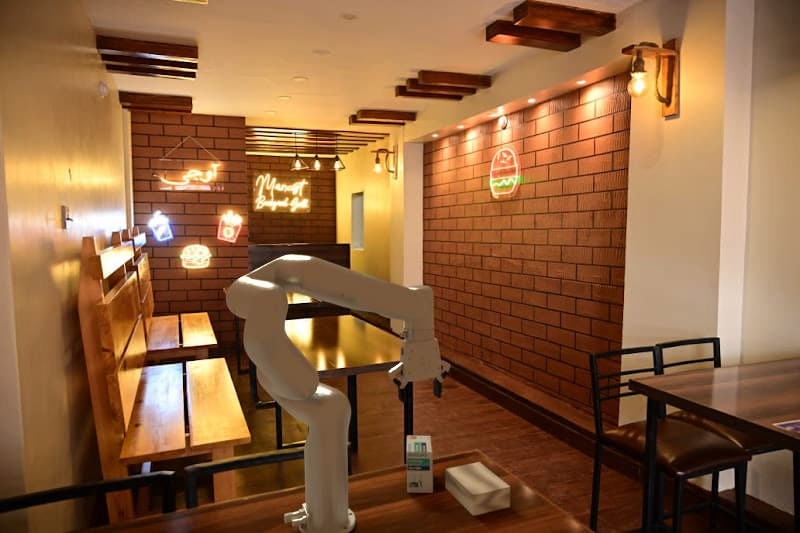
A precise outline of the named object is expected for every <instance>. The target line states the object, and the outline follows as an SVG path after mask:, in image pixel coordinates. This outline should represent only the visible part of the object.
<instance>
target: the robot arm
mask: <svg viewBox="0 0 800 533" xmlns="http://www.w3.org/2000/svg"><path fill="white" fill-rule="evenodd" d="M289 293H293V294H297V295H298V294H299V295H302V296H304V297H308V298H312V299H315V300H318V301H319V300H320V301H323V302H326V303H330V304H333V305H336V306H340V307H342V308H347V309H351V310H355V311H361V312H370V313H375V314H377V315H379V316H381V317H384V318H387V319H392V320H396V321H397V320H398V321H402V322H404V328H403V330H402V331H400V332H399V337H400V338H404V339H402V341H401V346H400V355H399V363H398V364H397V365H395V366H394V367H392V368H391V369H390V370H388V371H387V375H388V376H389V378H390V379H391V382H392V383H393V384H395V385H396V386H397V398H398V400H399V402H401V403H402V404H403V405H406V404H407V403H408V401H407V399H408V397H407V396H408V394H407V391H408V390H407V387H406V385H407V384H408V383H409V382H419V381H424V380H429V379H430V380H431V379H432V380H433V381H432V383H433V384H432V386H433V387H432V388H433V389H432V391H433V392H432V394H433V395H434V396H435V397H436V398H438V399H441V398H442V393H443V383H444V381H445V378H446V377H447V376H448V375H449V371H450V369H451V367H452V365H451V364H450V363H449V362H447V361H445V360H443V359H441V352H440V346H439V341H438V338H436V337H435V319H434V318H435V317H434V315H435V314H434V313H435V312H434V307H435V306H434V304H435V303H434V301H435V300H434V299H435V298H434V290H433V288H432V287H431V286H428V285H422V284H421V285H411V286H404V285H401V284H398V283H394V282H390V281H387V280H384V279H381V278H378V277H375V276H372V275H370V274H366V273H363V272H360V271H358V270H357V271H356V270H353V269H350V268H348V267H344V266H341V265H339V264H336V263H334V262H331V261H328V260H325V259H322V258H319V257H316V256H312V255H304V254H285V255H282V256H280V257H279V258H275V259H273V260H272V261H270V262H268V263H266V264H264V265H262V266H261V267H259V268H256V269H254V270H253V271H250V272H249V273H247V274H245V275H243V276H240V277H239V278H237V279H236V280H235V281H233V283H232V284H231V285H230V286H229V287H228V289H227V291H226V295H225V302H226V306H227V309H229V311H230V313H232V314H233V315H234V316H236V317H238V318H240V319H245V323H244V328H243V346H244V351H245V353H246V355H247V356H248V358H249V359H250V360H251V362H252V363H253V364H254V365H255V366H256V377H257V380H258V383H259V384H260V386H261V387H262V388H263V389H264V390H265V392H266V393H267V394H268V395H269V396H271V398H272V399H273V400H275V402H277V404H278V405H279V406H280V407H281V408H283V410H284V411H285V412H287V413H288V414H289V415H290V416H292V417H293V418H295V419H297V421H298V420H299V421H300V422H301V423H304V424H305V425H306V426H308V433H307V437H306V439H305V441H304V442H305V443H304V448H303V449H304V450H303V453H304V454H303V455H304V456H303V457H304V458H303V459H304V486H305V488H304V492H305V493H304V494H305V499H304V500H305V502H304V503H302V506H301V508H300V509H299V508H298V510H296V511H292V512H287V513H284V515H283V518H284V523H285V524H287V523H291V526H292V527H297V526H298V528H299V531H300V533H350V532H351V531H352V530H353V529H354V527H355V525H356V515H355V513H354V511H353V510H351V509H350V508H349V472H348V471H349V470H348V468H349V466H348V463H349V462H348V461H349V460H348V436H349V426H350V422H351V418H352V417H351V416H352V408H351V404H350V400H349V398H348V397H347V396H346V395H345V393H343V392H342V391H340V390H339V389H337V388H335V387H332V386H330V385H327V384H325V383H322V382H320V376H319V372H318V370H317V369H316V366H315V365H314V364H313V362H311V361H310V360H309V358H307V356H306V355H305V354H304V353H303V352H302V351H301V350H300V348H298V347H297V345H295V343H294V342H293V341H292V339H291V338H290V337H289V335H288V334H287V332H286V318H287V314H288V311H289V310H288V309H289V299H288V298H289V297H288V296H287V295H288V294H289ZM398 373H399V375H400V377H399V378H397V376H396V374H398Z"/></svg>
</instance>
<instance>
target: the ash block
mask: <svg viewBox="0 0 800 533" xmlns="http://www.w3.org/2000/svg"><path fill="white" fill-rule="evenodd" d="M444 475H445V489H446V490H447V491H448V492H449V493H450V494H451V495H452V497H453V498H455V499H456V500H457V501H458V503H460V504H461V505H462V506H463V507H464V508H465V509H466V510H467V511H468V512H469V514H471V515H472V516H473V517H475V516H478V515H482V514H487V513H491V512H495V511H499V510H502V509H507V508H511V507H510V506H511V486H510V485H509V484H508V483H507V482H505V481H504V480H503V479H502V478H500V477H499V476H497V475H496V474H495V472H493V471H492V470H490V469H489V468H488V467H487V466H485V465H484V464H483V463H481V461H478V462H473V463H467V464H463V465H458V466H453V467H449V468H445V474H444Z"/></svg>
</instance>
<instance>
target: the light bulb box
mask: <svg viewBox="0 0 800 533" xmlns="http://www.w3.org/2000/svg"><path fill="white" fill-rule="evenodd" d="M433 454H434V453H433V447H432V436H431V435H407V436H406V484H407V486H406V488H407V489H406V490H407V493H416V494H418V493H425V494H426V493H429V494H432V493H433V492H434V467H433V466H434V461H433V460H434V459H433V458H434V455H433Z"/></svg>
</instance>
